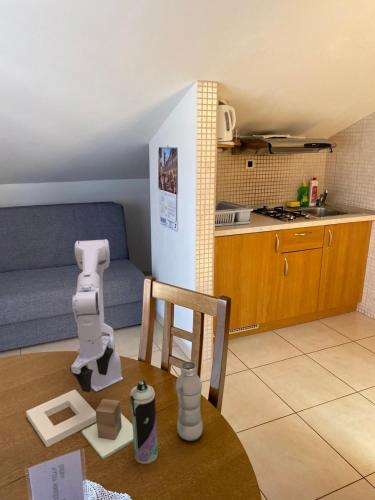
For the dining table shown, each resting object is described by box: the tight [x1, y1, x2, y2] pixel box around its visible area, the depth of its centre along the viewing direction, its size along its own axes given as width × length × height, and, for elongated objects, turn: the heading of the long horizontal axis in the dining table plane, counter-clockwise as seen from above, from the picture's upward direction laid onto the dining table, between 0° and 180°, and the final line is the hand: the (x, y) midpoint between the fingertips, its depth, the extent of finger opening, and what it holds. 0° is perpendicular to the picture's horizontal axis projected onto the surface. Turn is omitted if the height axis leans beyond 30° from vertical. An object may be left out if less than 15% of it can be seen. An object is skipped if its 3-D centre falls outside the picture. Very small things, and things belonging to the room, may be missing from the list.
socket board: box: [25, 389, 97, 448], centre depth 105 cm, size 14×14×2 cm
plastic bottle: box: [175, 361, 204, 442], centre depth 96 cm, size 6×7×20 cm
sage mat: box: [81, 413, 134, 460], centre depth 99 cm, size 11×11×1 cm
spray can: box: [129, 380, 159, 465], centre depth 90 cm, size 6×6×20 cm
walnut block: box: [95, 398, 122, 440], centre depth 98 cm, size 4×4×8 cm
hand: (94, 382), depth 103 cm, fingers open, 7 cm apart
